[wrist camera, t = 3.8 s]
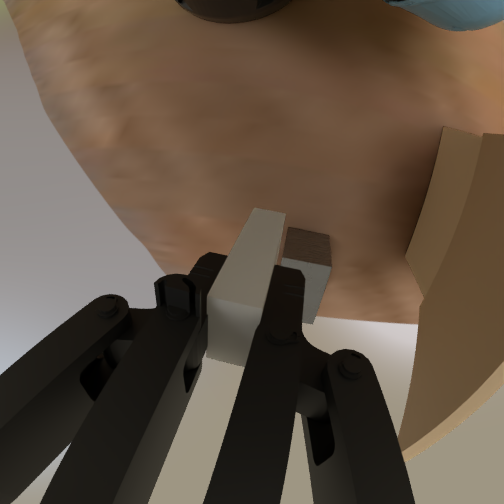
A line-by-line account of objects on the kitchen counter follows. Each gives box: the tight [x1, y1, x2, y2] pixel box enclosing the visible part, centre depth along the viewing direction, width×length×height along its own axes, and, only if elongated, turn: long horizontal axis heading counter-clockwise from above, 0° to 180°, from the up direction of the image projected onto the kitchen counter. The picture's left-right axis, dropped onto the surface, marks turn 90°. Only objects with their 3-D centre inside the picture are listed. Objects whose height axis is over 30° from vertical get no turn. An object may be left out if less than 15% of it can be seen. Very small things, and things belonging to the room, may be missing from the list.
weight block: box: [281, 227, 332, 324], centre depth 32 cm, size 8×5×7 cm, turn 173°
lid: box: [398, 133, 504, 462], centre depth 12 cm, size 17×16×1 cm
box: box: [405, 126, 483, 298], centre depth 22 cm, size 17×16×10 cm
